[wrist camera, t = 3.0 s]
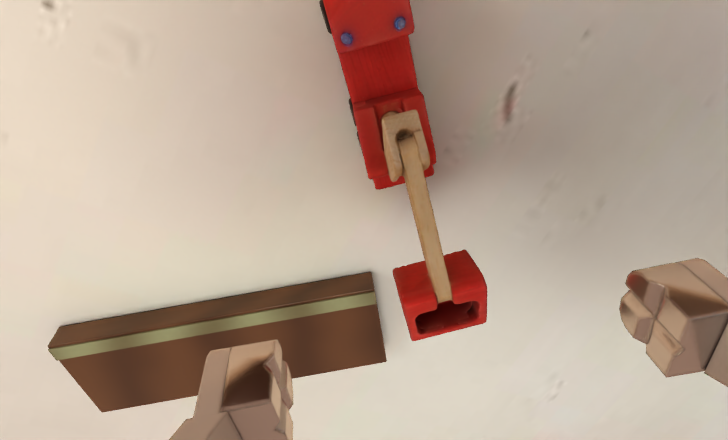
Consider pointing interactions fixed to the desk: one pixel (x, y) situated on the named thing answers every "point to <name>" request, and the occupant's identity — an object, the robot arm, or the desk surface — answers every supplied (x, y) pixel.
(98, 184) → the desk surface
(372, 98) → the toy fire truck
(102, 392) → the board
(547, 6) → the desk surface
